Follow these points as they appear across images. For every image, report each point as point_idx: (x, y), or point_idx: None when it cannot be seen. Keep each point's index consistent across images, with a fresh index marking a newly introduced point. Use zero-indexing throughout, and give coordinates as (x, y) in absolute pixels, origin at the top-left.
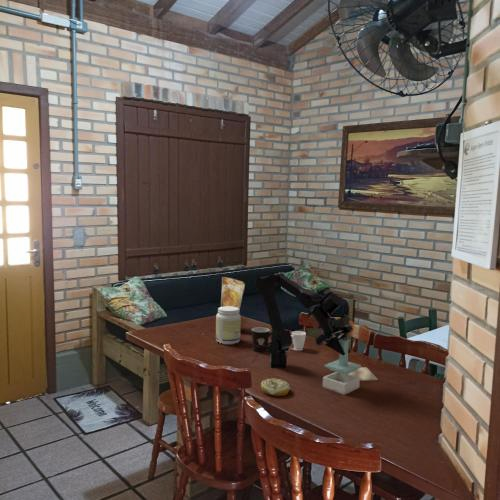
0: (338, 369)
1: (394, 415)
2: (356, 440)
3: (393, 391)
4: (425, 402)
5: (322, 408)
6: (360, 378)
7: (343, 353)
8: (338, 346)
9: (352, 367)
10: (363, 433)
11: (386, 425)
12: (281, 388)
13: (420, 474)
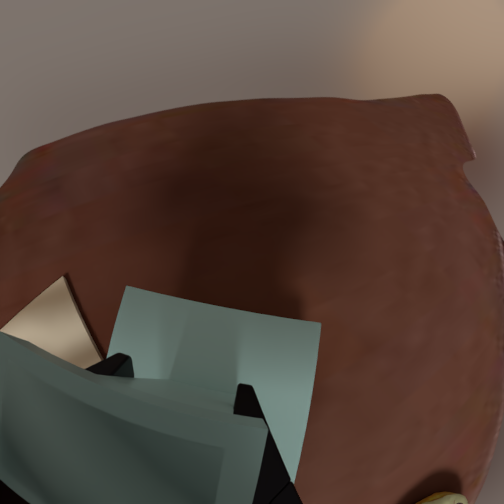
0: (308, 400)
1: (335, 158)
2: (484, 206)
3: (143, 201)
4: (188, 122)
5: (451, 346)
6: (81, 343)
7: (256, 402)
8: (294, 498)
9: (205, 327)
10: (462, 201)
11: (399, 166)
12: (459, 500)
13: (460, 124)
